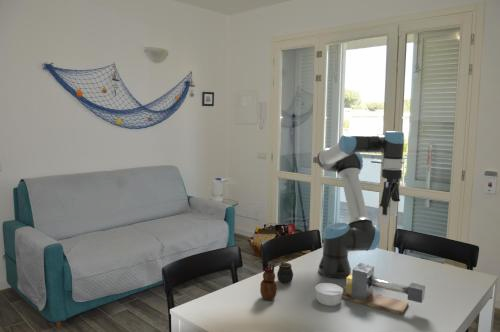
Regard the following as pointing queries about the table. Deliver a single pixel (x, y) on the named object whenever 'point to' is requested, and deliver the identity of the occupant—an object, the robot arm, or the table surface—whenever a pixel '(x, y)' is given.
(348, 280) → the brass collar
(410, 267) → the table surface
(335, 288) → the ramekin
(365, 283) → the block
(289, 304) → the table surface
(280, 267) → the mate gourd
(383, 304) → the walnut board
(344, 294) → the pad
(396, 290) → the shaft
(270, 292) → the wooden figurine
